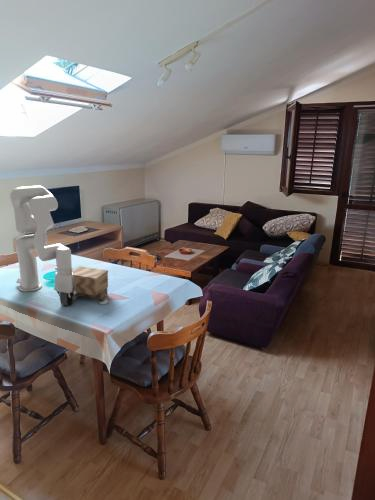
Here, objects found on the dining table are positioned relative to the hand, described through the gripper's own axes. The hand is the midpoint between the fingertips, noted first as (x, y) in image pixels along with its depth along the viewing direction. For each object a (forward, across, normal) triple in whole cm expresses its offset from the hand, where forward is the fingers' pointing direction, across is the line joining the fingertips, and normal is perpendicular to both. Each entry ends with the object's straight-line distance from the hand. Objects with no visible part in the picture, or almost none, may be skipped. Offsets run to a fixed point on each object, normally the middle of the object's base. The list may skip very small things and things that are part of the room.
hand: (66, 302), depth 192 cm
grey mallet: (+1, 0, +4) cm, 5 cm away
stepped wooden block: (+1, +5, +13) cm, 14 cm away
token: (+2, +17, +9) cm, 19 cm away
